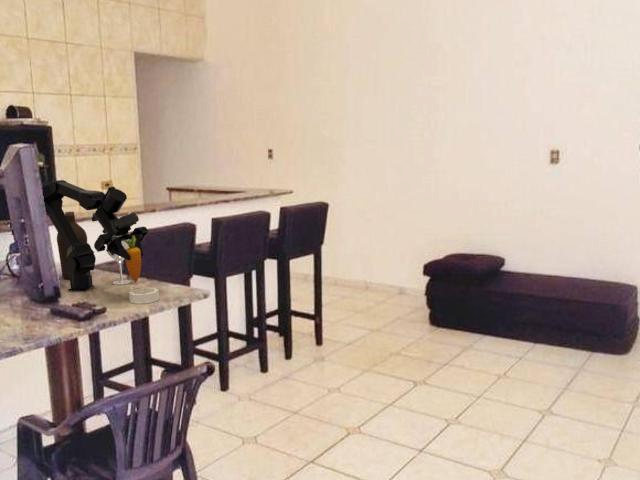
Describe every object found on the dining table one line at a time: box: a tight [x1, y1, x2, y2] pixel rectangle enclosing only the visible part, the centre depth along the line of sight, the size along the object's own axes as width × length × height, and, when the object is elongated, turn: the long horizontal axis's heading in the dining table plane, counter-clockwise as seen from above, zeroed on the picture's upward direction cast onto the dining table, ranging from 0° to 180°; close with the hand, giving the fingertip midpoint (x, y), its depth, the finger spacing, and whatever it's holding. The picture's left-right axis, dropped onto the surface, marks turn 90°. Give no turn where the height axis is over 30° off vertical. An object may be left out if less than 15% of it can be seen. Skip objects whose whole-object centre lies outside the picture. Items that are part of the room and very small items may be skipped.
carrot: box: [124, 236, 142, 283], centre depth 199 cm, size 5×5×15 cm
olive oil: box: [56, 211, 88, 281], centre depth 232 cm, size 11×11×25 cm
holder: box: [128, 287, 160, 305], centre depth 199 cm, size 9×9×3 cm
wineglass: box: [106, 241, 132, 286], centre depth 223 cm, size 8×8×18 cm
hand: (136, 258), depth 198 cm, fingers closed on carrot, 5 cm apart
